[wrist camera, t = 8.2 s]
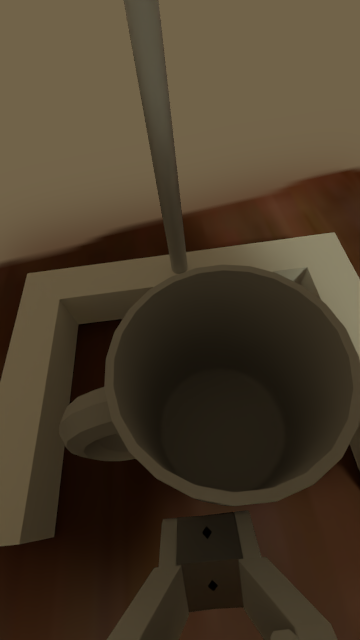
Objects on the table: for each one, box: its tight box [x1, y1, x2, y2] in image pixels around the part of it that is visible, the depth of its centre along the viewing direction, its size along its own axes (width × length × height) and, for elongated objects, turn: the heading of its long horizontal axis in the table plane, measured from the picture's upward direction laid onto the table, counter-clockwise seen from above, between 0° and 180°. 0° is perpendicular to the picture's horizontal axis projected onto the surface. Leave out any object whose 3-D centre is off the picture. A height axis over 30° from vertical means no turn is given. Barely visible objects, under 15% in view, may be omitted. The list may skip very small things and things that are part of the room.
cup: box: [59, 265, 360, 506], centre depth 12 cm, size 7×10×9 cm
